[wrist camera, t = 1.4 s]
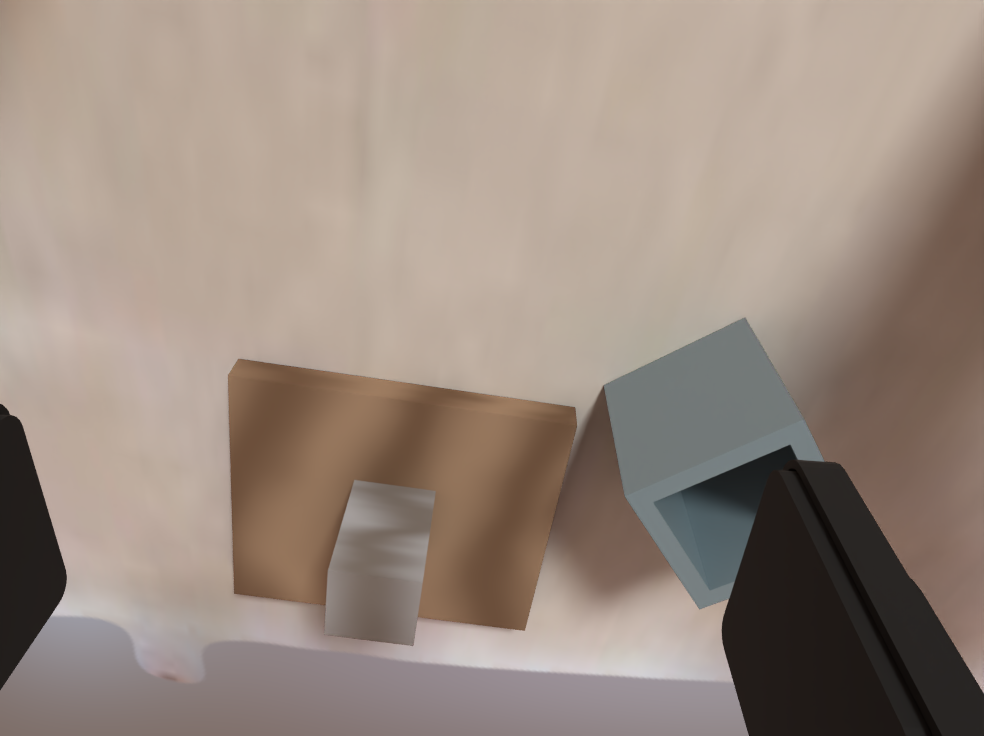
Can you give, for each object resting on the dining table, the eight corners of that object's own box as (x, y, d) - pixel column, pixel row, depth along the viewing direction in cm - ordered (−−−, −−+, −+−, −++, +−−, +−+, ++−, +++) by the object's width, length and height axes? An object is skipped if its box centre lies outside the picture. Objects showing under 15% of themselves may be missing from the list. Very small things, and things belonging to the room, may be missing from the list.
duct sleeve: (745, 317, 34) (804, 419, 27) (800, 429, 37) (866, 547, 30) (603, 385, 36) (624, 496, 29) (666, 486, 38) (699, 609, 32)
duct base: (575, 407, 36) (587, 512, 30) (524, 609, 43) (525, 730, 37) (238, 358, 35) (176, 456, 29) (242, 573, 42) (193, 689, 36)
